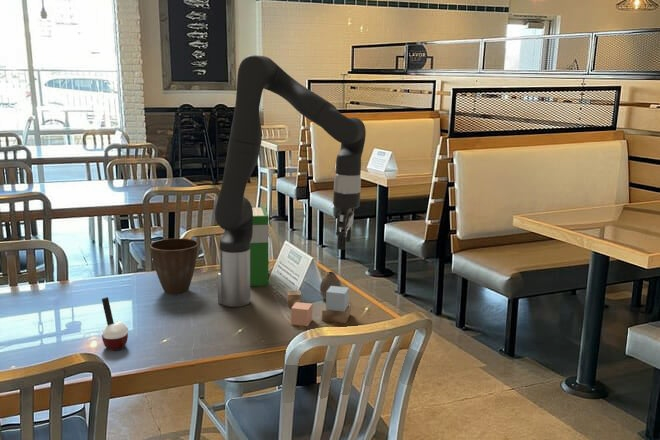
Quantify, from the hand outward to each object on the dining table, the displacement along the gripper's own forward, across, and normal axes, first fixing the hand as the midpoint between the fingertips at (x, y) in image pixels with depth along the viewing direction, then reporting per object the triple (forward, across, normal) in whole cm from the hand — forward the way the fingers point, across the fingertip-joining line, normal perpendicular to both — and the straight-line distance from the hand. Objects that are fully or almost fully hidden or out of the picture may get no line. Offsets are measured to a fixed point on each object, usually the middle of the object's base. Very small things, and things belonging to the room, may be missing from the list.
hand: (344, 245), depth 179 cm
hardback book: (+23, -30, -36) cm, 52 cm away
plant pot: (+24, -9, -56) cm, 62 cm away
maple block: (+23, -7, -16) cm, 29 cm away
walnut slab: (+23, 0, -1) cm, 23 cm away
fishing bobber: (+24, +34, -53) cm, 67 cm away
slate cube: (+19, 0, -1) cm, 19 cm away
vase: (+23, -15, -6) cm, 28 cm away
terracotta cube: (+23, +6, -10) cm, 25 cm away
